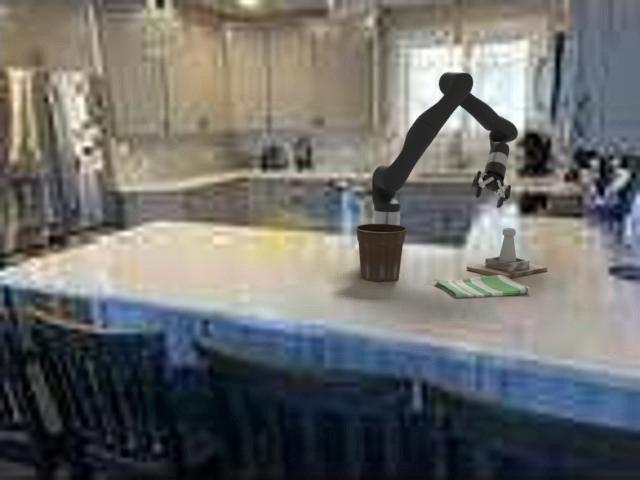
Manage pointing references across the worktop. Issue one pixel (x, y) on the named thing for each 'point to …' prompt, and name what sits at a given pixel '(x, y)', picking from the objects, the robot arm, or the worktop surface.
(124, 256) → the worktop surface
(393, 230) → the plant pot
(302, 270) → the worktop surface
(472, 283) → the dish towel
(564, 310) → the worktop surface
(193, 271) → the worktop surface
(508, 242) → the salt shaker
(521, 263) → the caddy board
